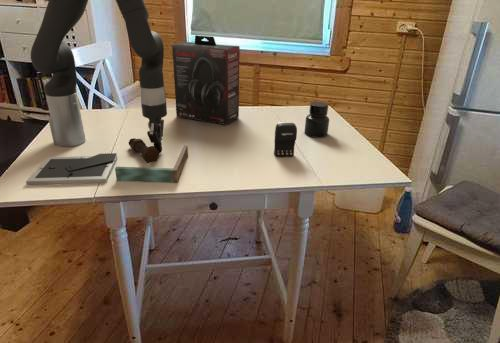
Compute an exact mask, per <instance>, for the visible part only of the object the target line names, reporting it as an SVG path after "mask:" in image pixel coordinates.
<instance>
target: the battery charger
mask: <svg viewBox="0 0 500 343" xmlns="http://www.w3.org/2000/svg"><path fill="white" fill-rule="evenodd" d="M297 137H298V128H297V125H296V123H294V122H292V121H291V122H290V121H289V122H287V121H286V122H285V121H281V122H277V123H276V124H275V128H274V145H273V146H274V150H273V154H274V156H275V157H277V158H291V157H292V158H293V157H294V155H295V145H296V140H297Z"/></svg>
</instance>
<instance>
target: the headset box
mask: <svg viewBox="0 0 500 343" xmlns="http://www.w3.org/2000/svg"><path fill="white" fill-rule="evenodd" d="M204 39H205V40H204ZM171 48H172V50H171V51H172V63H173V78H174V79H173V81H174V94H175V97H174V98H175V112H176V113H175V114H176V117H177V118H181V119H190V120H196V121H202V122H208V123H213V124H218V125H219V124H220V125H226V126H227V125H228V124H230V123H233V121H235V120H237V119H238V118H239V117H240V116H239V115H240V114H239V113H240V106H239V105H240V54H241V53H240V51H241V50H240V48H241V47H240V45H229V44H228V45H227V44H217V43H216V40H215V37H214V36H206V35H197V34H195V36H194V42H191V41H184V42H183V41H182V42H178V43H173V44H172V45H171Z"/></svg>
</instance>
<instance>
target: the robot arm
mask: <svg viewBox="0 0 500 343" xmlns="http://www.w3.org/2000/svg"><path fill="white" fill-rule="evenodd" d="M88 1H89V0H48V2H47V6H46V9H45V11H44V15H43V18H42V21H41V24H40V26H39V29H38V32H37V34H36V36H35V39H34V42H33V44H32V46H31V50H30V62H31V64H32V66H33V68H34V69H35V71H37V72H38V73H40V74H41V75H42V74H44V75H51V74H52V76H51V78H50V80H48V81H47V83H45V85H44V87H43V89H44V94H45V97H46V98H45V99H46V103H47V107H48V110H49V115H50V116H49V117H48V124H49V129H50V132H51V137H52V140H53V141H52V142H53V145H57V146H60V147H75V146H80V145H82V144H84V143H85V142H86V135H85V134H86V133H85V130H84V128H85V127H84V124H83V118H82V113H81V109H80V108H81V107H80V103H79V97H78V91H77V85H78V77H77V69H76V68H77V67H76V61H75V56H74V52H73V50H72V49H71V47H70V45H69V44H68V43H66V42H65V41H63V40H64V39H65V37H66V36H67V35H68V34H69V32H70V31H71V30H72V29H73V28H74V27H75V26H76V25H77V23H78V22H79V21H80V20H81V18H83V15H84V14H85V11H86V8H87V6H88ZM115 2H116V5H117V6H118V9H119V11H120V13H121V15H122V18H123V20H124V23H125V28H126V32H127V36H128V39H129V40H128V41H129V43H130V47H131V48H132V51H133V52H134V53H135V54H136V55H137V56H138V57H139V58H140V59H141V66H139V68H138V69H139V70H138V78H139V90H140V92H139V94H140V95H139V96H140V105H141V112H142V117H144V118H145V119H148V122H147V127H148V131H147V132H146V134H147V137H148V139H149V141H150V143H151V144H153V146H154V147H155V148H156V149H157V150H158V151H159V153H160V154H161V153H162V152H163V147H162V146H163V145H162V140H163V137H164V125H165V124H164V123H165V120H164V119H163V118H164V117H166V116H167V114H168V111H167V99H166V98H167V97H166V96H167V95H166V90H165V83H164V74H163V73H164V72H163V68H164V57H165V55H164V54H165V52H164V51H165V50H164V49H165V48H164V41H163V39H162V37H161V36H160V34H159V33H157V32H156V31H153V30H151V27H150V24H149V17H150V15H149V11H148V8H147V5H146V3H145V1H144V0H115Z"/></svg>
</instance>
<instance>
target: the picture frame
mask: <svg viewBox="0 0 500 343" xmlns="http://www.w3.org/2000/svg"><path fill="white" fill-rule="evenodd" d="M117 161H118V155H117V152H115V153H113V152H112V153H108V152H107V153H98V154H95V155H80V156H78V155H76V156H74V155H73V156H72V155H71V156H46V158H45V159H44V160H43V161H42V162H41V163H40V164H39V166H38V167H37V168H36V170H34V171H33V172H32V174H31V175H30V176H29V177H28V178H27V179H26V181H25V182H26V186H27V185H29V186H53V185H54V186H55V184H61V185H85V184H87V185H88V184H89V185H90V184H107V183H108V181H109V178H110V176H111V175H112V173H113V171H114V169H115V167H116V164H117Z"/></svg>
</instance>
